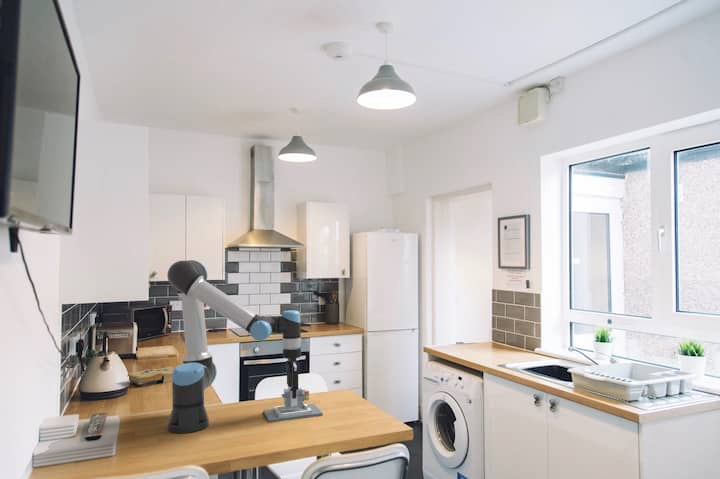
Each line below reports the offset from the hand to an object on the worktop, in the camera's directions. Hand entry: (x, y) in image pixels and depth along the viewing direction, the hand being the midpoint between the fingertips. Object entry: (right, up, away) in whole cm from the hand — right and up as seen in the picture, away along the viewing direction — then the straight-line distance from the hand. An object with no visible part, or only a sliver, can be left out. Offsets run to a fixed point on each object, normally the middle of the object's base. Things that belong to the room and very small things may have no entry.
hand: (292, 404), depth 206 cm
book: (-82, -8, +60) cm, 102 cm away
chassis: (0, -4, 0) cm, 4 cm away
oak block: (+2, -5, +21) cm, 21 cm away
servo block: (0, 0, 0) cm, 1 cm away
